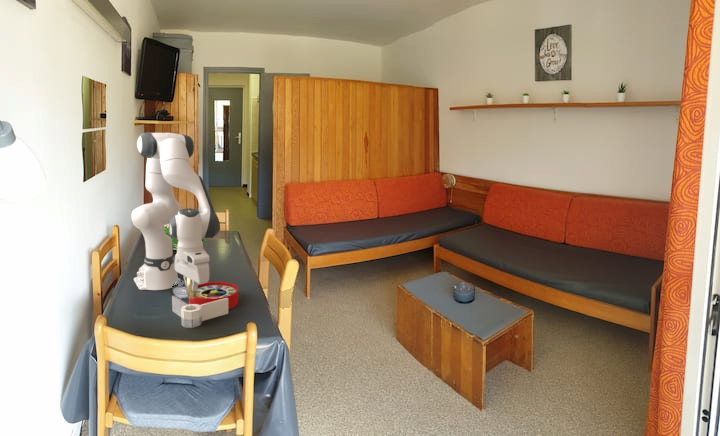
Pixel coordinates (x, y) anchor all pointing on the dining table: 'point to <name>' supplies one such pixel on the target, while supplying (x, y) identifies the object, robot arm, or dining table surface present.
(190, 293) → the hinge pin
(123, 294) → the dining table surface
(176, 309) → the hinge leaf
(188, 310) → the hinge leaf
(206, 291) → the toy clock
